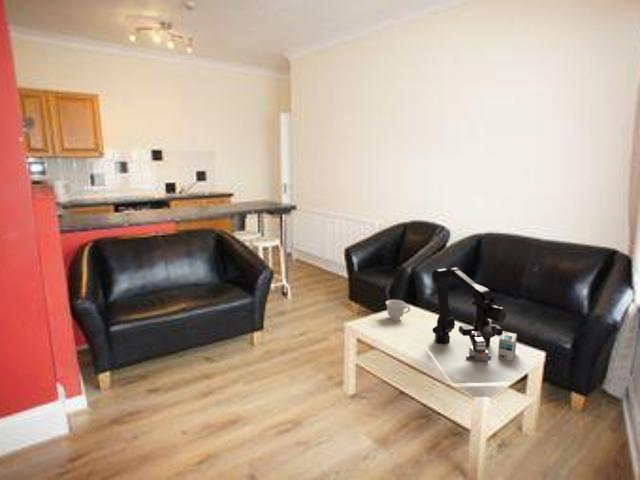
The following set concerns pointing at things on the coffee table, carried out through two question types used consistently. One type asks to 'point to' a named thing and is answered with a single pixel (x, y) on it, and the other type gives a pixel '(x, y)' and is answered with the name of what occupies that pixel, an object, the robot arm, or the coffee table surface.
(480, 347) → the column
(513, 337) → the light bulb box
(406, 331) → the coffee table surface
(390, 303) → the teacup
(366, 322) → the coffee table surface
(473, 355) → the stand base
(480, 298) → the robot arm
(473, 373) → the coffee table surface
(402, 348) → the coffee table surface
